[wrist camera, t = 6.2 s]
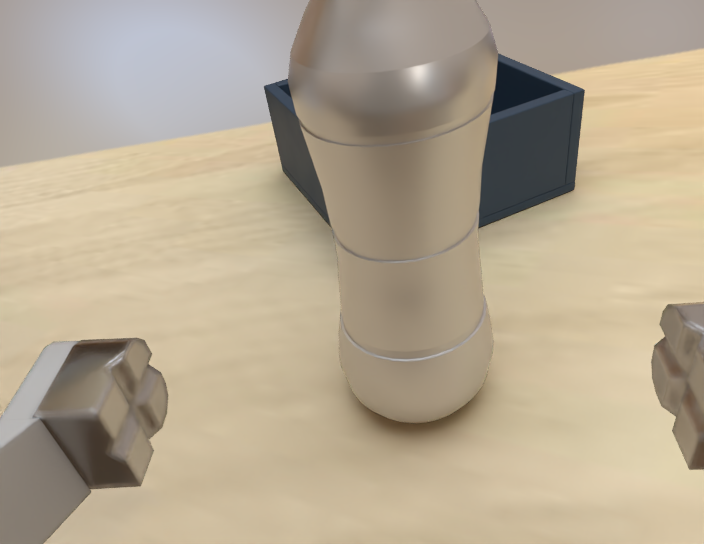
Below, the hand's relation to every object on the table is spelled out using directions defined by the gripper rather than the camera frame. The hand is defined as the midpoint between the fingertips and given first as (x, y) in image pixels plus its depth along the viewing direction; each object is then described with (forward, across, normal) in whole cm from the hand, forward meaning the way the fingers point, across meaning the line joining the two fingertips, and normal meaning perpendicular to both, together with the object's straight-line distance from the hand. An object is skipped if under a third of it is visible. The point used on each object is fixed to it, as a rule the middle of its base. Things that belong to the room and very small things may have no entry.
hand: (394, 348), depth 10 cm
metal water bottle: (+12, 0, +15) cm, 19 cm away
